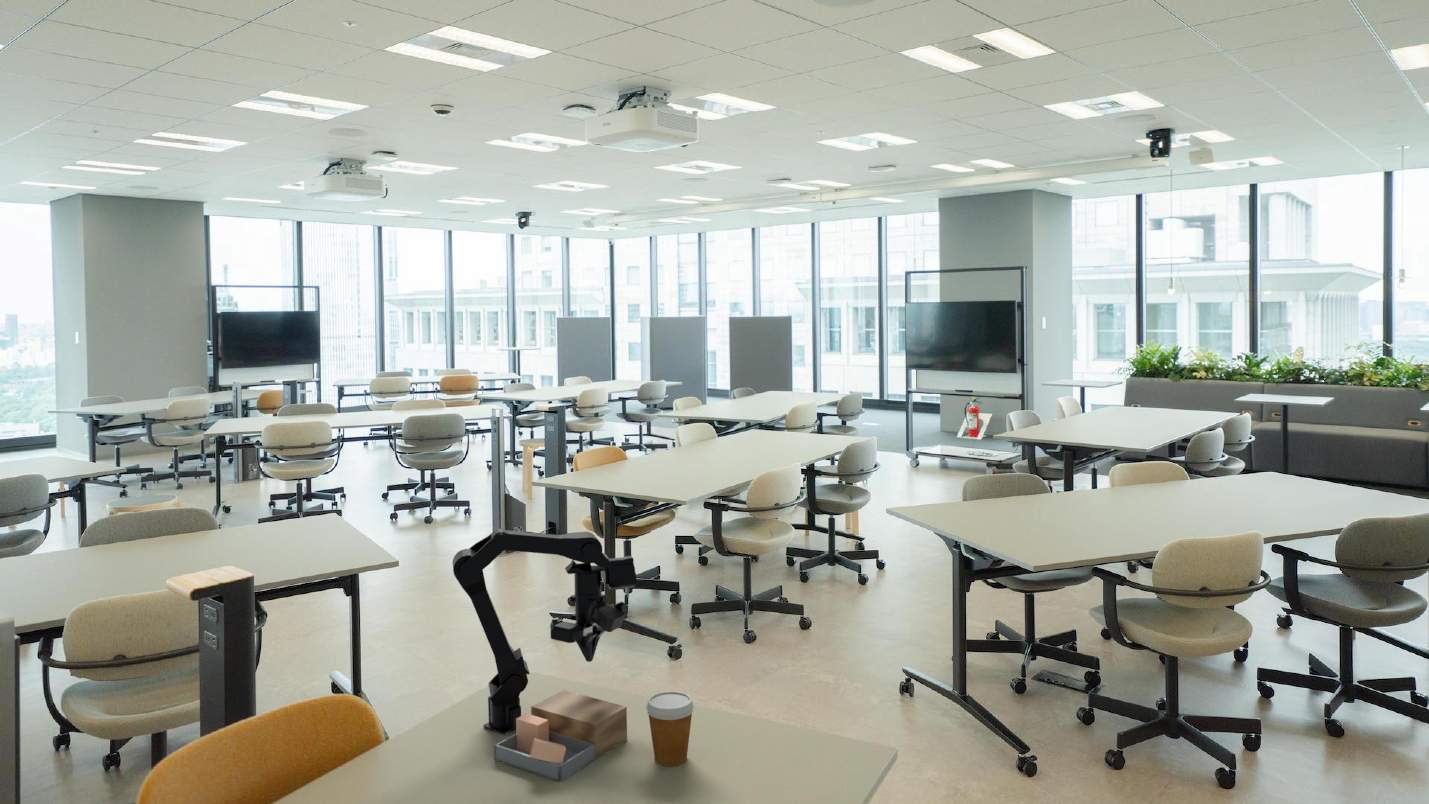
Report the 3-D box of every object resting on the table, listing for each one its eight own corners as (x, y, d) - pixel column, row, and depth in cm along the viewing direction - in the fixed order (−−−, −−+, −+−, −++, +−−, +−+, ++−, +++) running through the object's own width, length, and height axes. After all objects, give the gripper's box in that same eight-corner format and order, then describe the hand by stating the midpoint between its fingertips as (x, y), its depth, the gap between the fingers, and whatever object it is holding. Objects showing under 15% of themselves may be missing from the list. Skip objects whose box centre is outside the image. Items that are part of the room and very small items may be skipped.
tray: (494, 760, 178) (494, 745, 178) (531, 739, 187) (531, 725, 187) (560, 782, 169) (559, 766, 169) (596, 759, 178) (595, 744, 178)
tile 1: (527, 741, 185) (516, 747, 182) (526, 713, 184) (516, 718, 182) (549, 748, 182) (538, 754, 179) (548, 719, 181) (538, 725, 179)
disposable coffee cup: (688, 772, 172) (688, 711, 171) (640, 768, 174) (639, 707, 173) (699, 750, 182) (699, 692, 181) (653, 746, 183) (653, 688, 182)
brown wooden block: (531, 739, 187) (531, 706, 186) (564, 721, 195) (563, 690, 195) (596, 759, 178) (595, 725, 177) (627, 739, 186) (626, 706, 186)
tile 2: (564, 745, 177) (559, 761, 176) (534, 738, 176) (529, 754, 176) (566, 748, 172) (561, 764, 171) (535, 740, 171) (530, 757, 170)
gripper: (589, 608, 185) (590, 682, 186) (643, 586, 200) (644, 654, 202) (548, 600, 190) (549, 672, 192) (604, 579, 206) (605, 645, 207)
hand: (589, 661), depth 198 cm, fingers closed
